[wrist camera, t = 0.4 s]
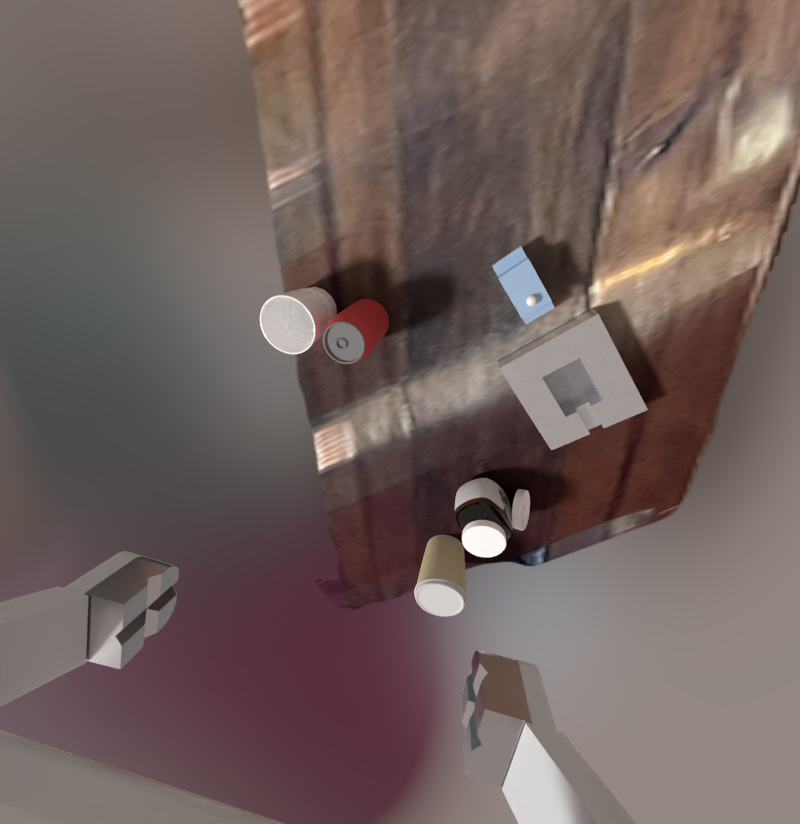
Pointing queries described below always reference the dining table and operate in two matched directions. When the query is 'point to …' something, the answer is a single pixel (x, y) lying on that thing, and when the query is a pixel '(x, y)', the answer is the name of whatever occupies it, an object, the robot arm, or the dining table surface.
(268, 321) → the white cup
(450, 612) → the coffee cup
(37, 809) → the robot arm
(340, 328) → the beer can
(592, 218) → the dining table surface
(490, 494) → the spread jar
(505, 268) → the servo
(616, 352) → the plate
